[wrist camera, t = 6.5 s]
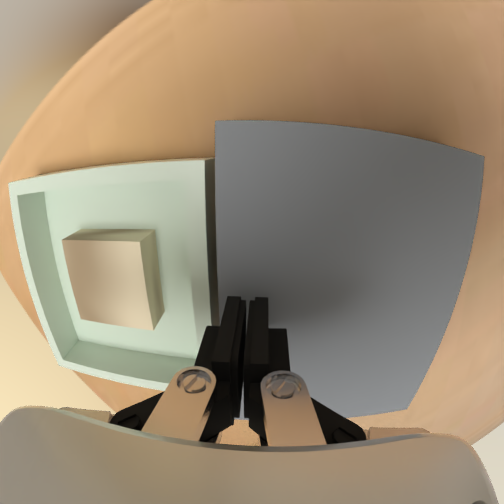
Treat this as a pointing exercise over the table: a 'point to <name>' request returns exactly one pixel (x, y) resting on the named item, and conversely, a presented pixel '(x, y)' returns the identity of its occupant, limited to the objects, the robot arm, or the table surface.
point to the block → (115, 276)
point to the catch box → (123, 217)
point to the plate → (346, 249)
